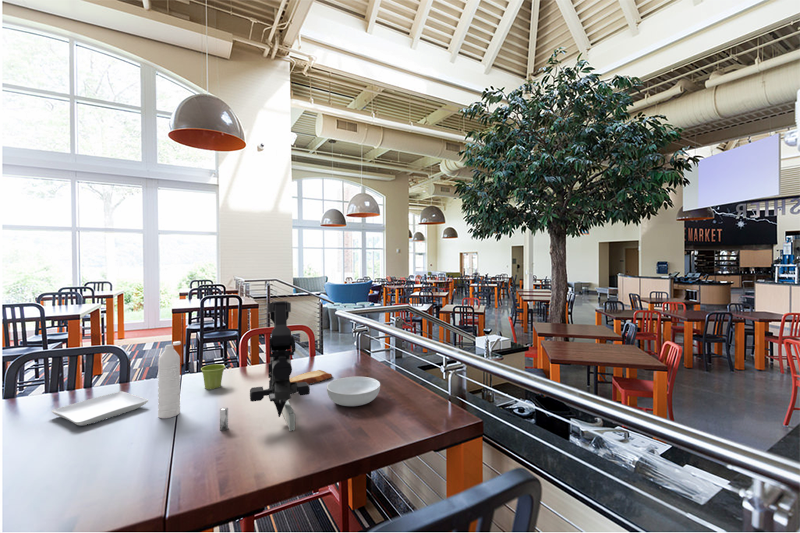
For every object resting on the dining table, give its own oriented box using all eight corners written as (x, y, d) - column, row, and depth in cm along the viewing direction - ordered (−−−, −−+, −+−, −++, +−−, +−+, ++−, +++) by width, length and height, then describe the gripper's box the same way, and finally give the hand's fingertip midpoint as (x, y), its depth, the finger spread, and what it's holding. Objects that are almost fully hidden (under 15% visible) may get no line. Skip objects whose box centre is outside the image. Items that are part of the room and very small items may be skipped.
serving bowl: (383, 393, 145) (383, 376, 145) (375, 414, 124) (375, 395, 124) (335, 391, 147) (335, 375, 147) (319, 412, 126) (319, 393, 126)
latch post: (226, 426, 115) (226, 406, 115) (229, 428, 113) (229, 408, 113) (218, 428, 113) (218, 409, 113) (221, 431, 111) (221, 411, 111)
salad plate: (49, 419, 121) (49, 409, 121) (121, 398, 140) (121, 389, 140) (77, 432, 111) (77, 422, 111) (150, 408, 130) (150, 399, 130)
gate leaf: (281, 411, 126) (281, 396, 126) (285, 410, 127) (285, 395, 127) (289, 431, 111) (289, 414, 111) (294, 430, 112) (294, 413, 112)
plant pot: (227, 382, 157) (227, 363, 157) (222, 389, 148) (222, 369, 148) (204, 384, 155) (204, 365, 155) (197, 391, 146) (197, 371, 146)
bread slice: (283, 387, 152) (283, 379, 152) (298, 374, 170) (298, 367, 170) (323, 388, 151) (323, 380, 151) (334, 375, 169) (334, 368, 169)
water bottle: (172, 418, 120) (172, 346, 120) (153, 418, 120) (153, 346, 120) (187, 408, 129) (187, 341, 129) (170, 408, 129) (170, 341, 129)
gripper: (252, 380, 106) (250, 431, 106) (313, 374, 114) (312, 422, 114) (250, 370, 116) (248, 417, 116) (307, 365, 124) (305, 409, 124)
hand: (279, 416), depth 117 cm, fingers closed
